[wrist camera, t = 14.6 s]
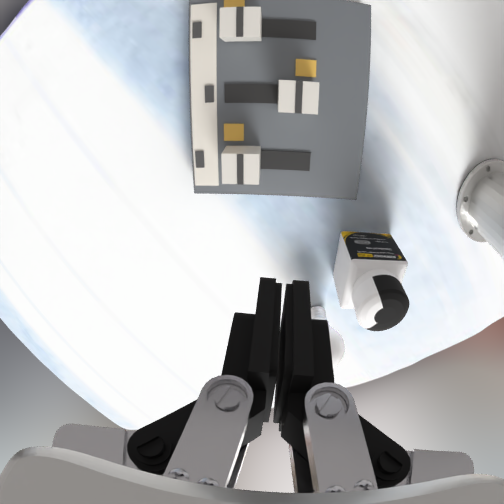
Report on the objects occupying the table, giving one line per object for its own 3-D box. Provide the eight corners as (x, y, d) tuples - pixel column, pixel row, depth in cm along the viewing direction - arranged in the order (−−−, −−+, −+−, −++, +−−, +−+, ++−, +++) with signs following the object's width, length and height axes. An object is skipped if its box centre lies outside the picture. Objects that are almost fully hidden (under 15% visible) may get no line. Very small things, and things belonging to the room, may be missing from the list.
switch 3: (314, 81, 27) (319, 82, 24) (312, 110, 28) (317, 114, 25) (278, 79, 27) (279, 79, 24) (277, 108, 28) (278, 112, 25)
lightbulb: (288, 301, 45) (291, 360, 36) (329, 287, 44) (341, 345, 34) (303, 329, 48) (307, 386, 39) (341, 316, 46) (352, 373, 37)
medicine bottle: (390, 232, 38) (424, 289, 28) (379, 276, 42) (403, 337, 32) (340, 229, 39) (361, 288, 29) (331, 275, 42) (346, 339, 32)
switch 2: (260, 146, 31) (259, 154, 28) (260, 173, 32) (258, 185, 29) (226, 145, 31) (221, 153, 28) (226, 172, 32) (222, 184, 29)
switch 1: (261, 14, 23) (260, 6, 20) (261, 41, 25) (260, 36, 22) (225, 14, 23) (219, 7, 20) (225, 41, 25) (219, 37, 22)
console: (362, 10, 24) (371, 4, 21) (350, 190, 36) (356, 201, 33) (196, 3, 25) (188, -4, 22) (199, 184, 37) (193, 194, 34)
